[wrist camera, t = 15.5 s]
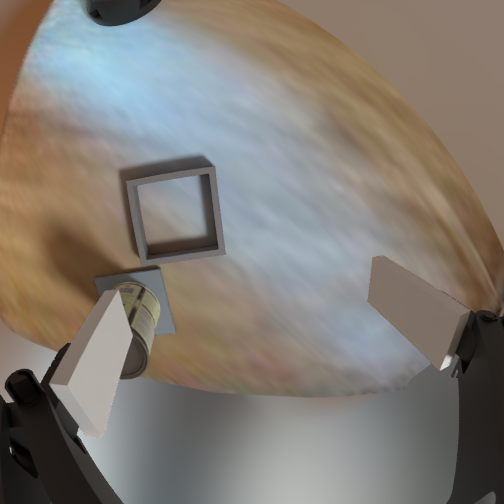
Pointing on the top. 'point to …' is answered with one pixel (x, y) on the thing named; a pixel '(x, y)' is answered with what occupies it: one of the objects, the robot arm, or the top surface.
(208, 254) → the collar
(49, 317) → the top surface
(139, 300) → the coffee can
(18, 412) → the robot arm
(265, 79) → the top surface
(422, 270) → the top surface
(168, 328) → the slate mat
